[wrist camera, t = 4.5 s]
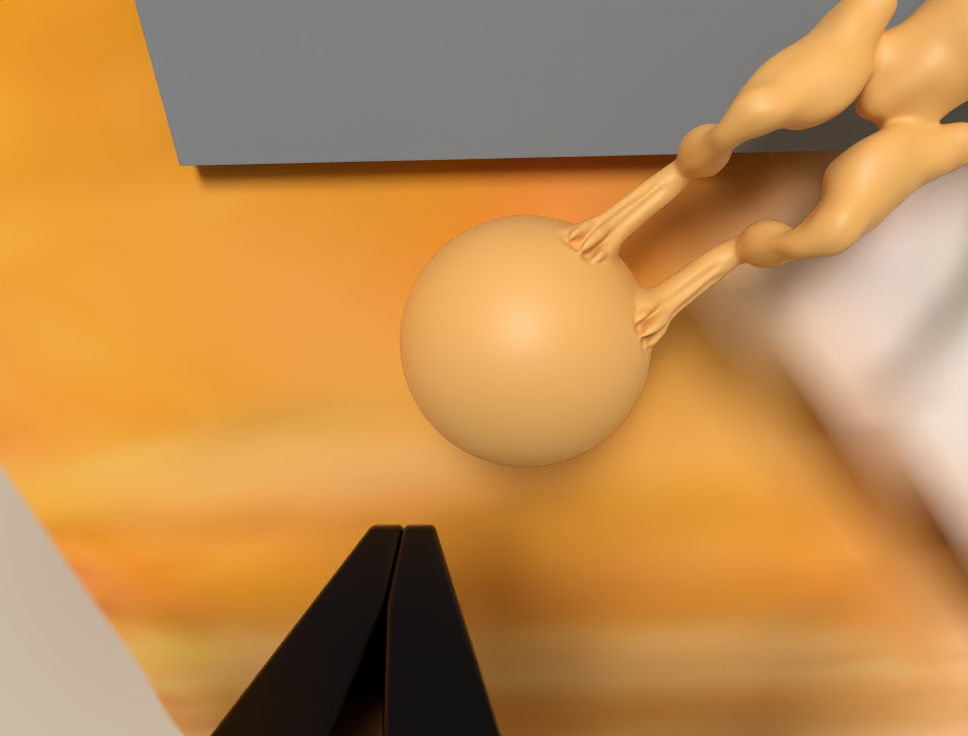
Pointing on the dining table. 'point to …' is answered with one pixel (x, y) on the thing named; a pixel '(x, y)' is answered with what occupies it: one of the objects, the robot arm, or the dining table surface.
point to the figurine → (648, 311)
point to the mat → (470, 76)
